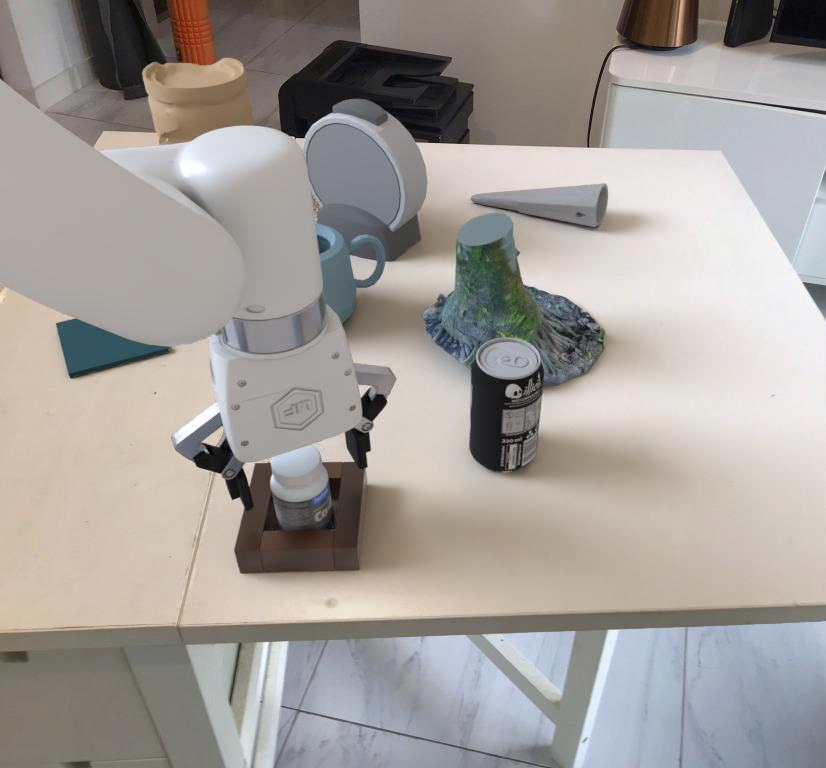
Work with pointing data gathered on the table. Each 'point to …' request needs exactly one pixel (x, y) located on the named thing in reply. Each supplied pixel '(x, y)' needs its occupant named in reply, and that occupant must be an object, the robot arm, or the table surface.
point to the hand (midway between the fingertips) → (302, 477)
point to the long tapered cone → (554, 202)
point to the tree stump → (509, 306)
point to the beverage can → (505, 404)
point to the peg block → (303, 547)
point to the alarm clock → (366, 177)
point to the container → (196, 98)
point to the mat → (99, 348)
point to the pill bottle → (301, 491)
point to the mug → (344, 268)
